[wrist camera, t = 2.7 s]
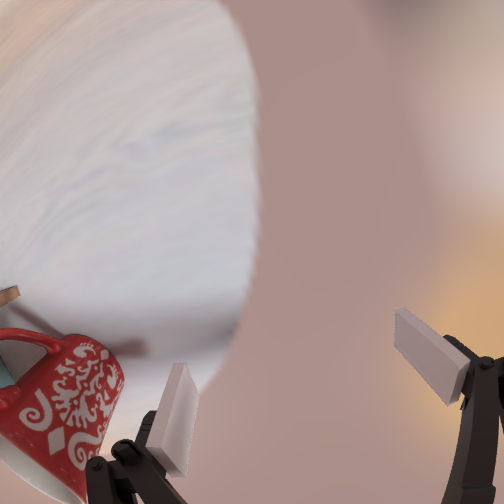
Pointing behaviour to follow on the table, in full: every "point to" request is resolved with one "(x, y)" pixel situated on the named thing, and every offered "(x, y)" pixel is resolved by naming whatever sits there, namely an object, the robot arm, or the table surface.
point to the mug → (58, 413)
